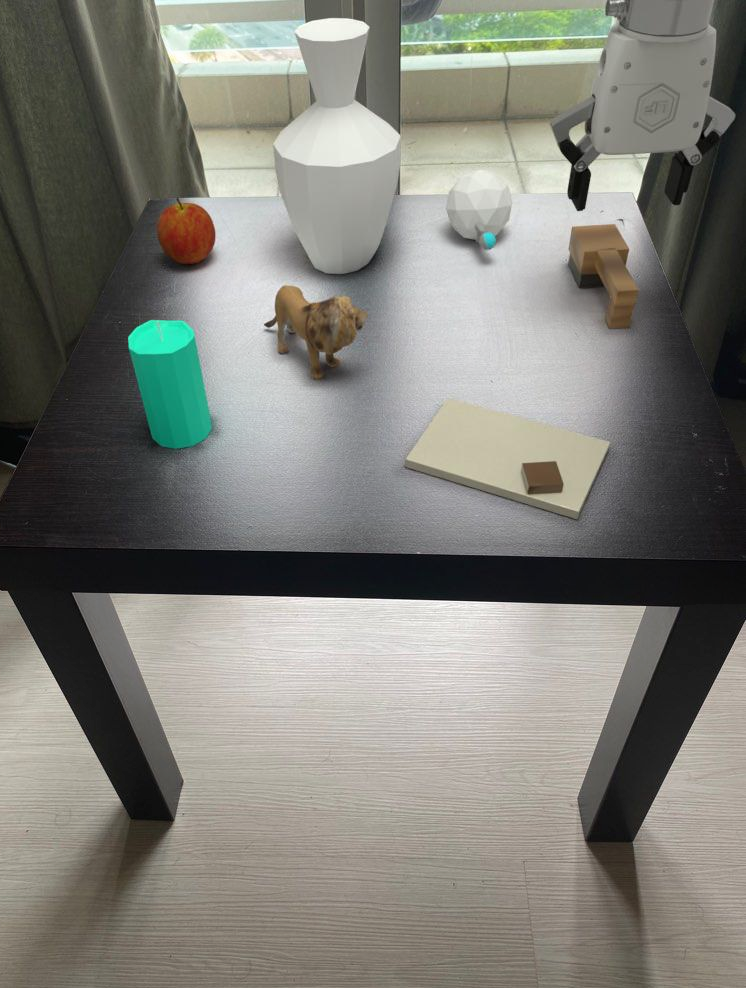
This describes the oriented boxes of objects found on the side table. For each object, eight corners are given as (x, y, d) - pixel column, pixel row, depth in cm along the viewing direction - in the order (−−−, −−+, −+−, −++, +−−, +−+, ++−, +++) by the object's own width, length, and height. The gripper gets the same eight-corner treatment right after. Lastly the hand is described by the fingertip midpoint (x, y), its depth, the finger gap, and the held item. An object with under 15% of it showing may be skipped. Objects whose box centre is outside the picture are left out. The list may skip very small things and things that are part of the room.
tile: (608, 450, 78) (610, 441, 77) (577, 519, 72) (579, 511, 71) (447, 405, 83) (447, 397, 82) (404, 467, 77) (405, 458, 76)
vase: (318, 222, 111) (304, 3, 93) (418, 242, 106) (424, 15, 88) (263, 273, 102) (235, 43, 84) (369, 297, 97) (364, 59, 79)
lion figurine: (375, 373, 87) (374, 295, 81) (338, 396, 85) (334, 317, 78) (282, 320, 95) (274, 245, 88) (245, 340, 92) (235, 264, 86)
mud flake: (562, 492, 73) (563, 484, 72) (527, 494, 73) (528, 486, 72) (554, 469, 75) (556, 460, 74) (520, 471, 75) (522, 462, 74)
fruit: (225, 247, 107) (216, 185, 101) (211, 275, 102) (201, 211, 96) (172, 245, 108) (160, 183, 102) (156, 273, 103) (142, 210, 97)
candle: (206, 449, 80) (184, 340, 71) (144, 448, 80) (115, 340, 72) (217, 409, 84) (197, 302, 75) (158, 409, 85) (131, 302, 76)
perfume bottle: (515, 188, 107) (538, 245, 100) (460, 227, 111) (478, 284, 104) (485, 143, 102) (507, 199, 95) (428, 185, 105) (445, 242, 98)
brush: (642, 327, 91) (652, 288, 88) (596, 330, 91) (604, 291, 88) (607, 260, 101) (614, 223, 98) (565, 263, 101) (571, 226, 98)
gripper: (576, 30, 71) (547, 225, 83) (782, 18, 71) (722, 214, 83) (556, 3, 76) (532, 190, 88) (748, -8, 76) (696, 180, 88)
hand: (624, 202), depth 86 cm, fingers open, 9 cm apart
